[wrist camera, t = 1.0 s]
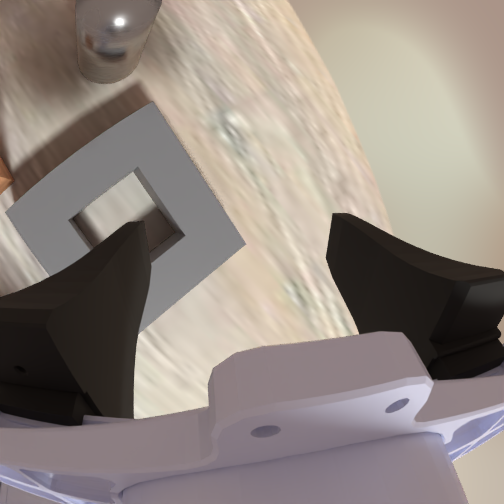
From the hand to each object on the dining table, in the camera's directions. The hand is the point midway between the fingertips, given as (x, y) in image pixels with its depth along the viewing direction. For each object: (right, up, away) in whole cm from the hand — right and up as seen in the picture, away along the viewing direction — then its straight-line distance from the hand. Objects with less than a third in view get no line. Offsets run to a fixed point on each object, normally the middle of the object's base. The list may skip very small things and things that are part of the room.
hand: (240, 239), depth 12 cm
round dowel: (-10, +14, +7) cm, 19 cm away
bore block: (-9, +1, +10) cm, 13 cm away
